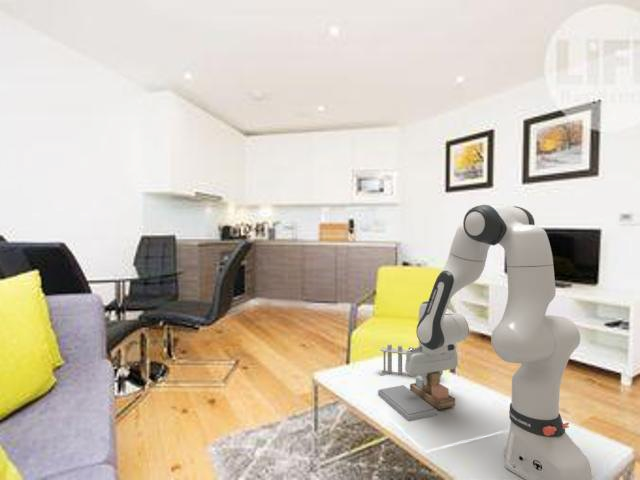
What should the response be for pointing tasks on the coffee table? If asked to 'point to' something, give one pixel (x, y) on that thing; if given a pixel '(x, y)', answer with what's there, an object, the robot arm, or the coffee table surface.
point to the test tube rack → (390, 351)
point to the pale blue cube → (419, 382)
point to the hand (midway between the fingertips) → (431, 383)
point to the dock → (407, 403)
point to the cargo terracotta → (440, 392)
